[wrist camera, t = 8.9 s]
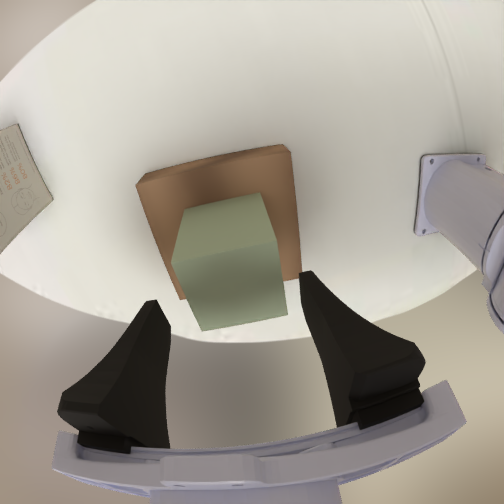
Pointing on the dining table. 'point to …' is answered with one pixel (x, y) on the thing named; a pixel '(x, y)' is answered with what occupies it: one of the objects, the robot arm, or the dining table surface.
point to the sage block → (229, 263)
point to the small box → (18, 186)
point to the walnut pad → (221, 188)
